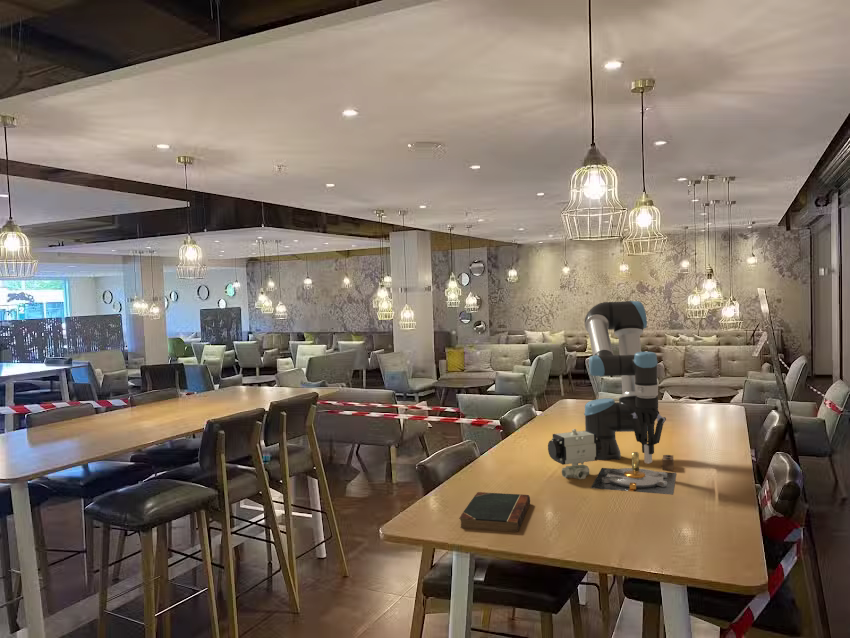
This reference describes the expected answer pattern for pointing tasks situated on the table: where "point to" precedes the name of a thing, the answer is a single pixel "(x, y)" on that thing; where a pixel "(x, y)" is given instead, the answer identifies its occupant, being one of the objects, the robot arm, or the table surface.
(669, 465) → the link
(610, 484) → the base plate
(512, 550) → the table surface
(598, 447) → the ball valve
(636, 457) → the turntable with brass post
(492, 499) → the book
